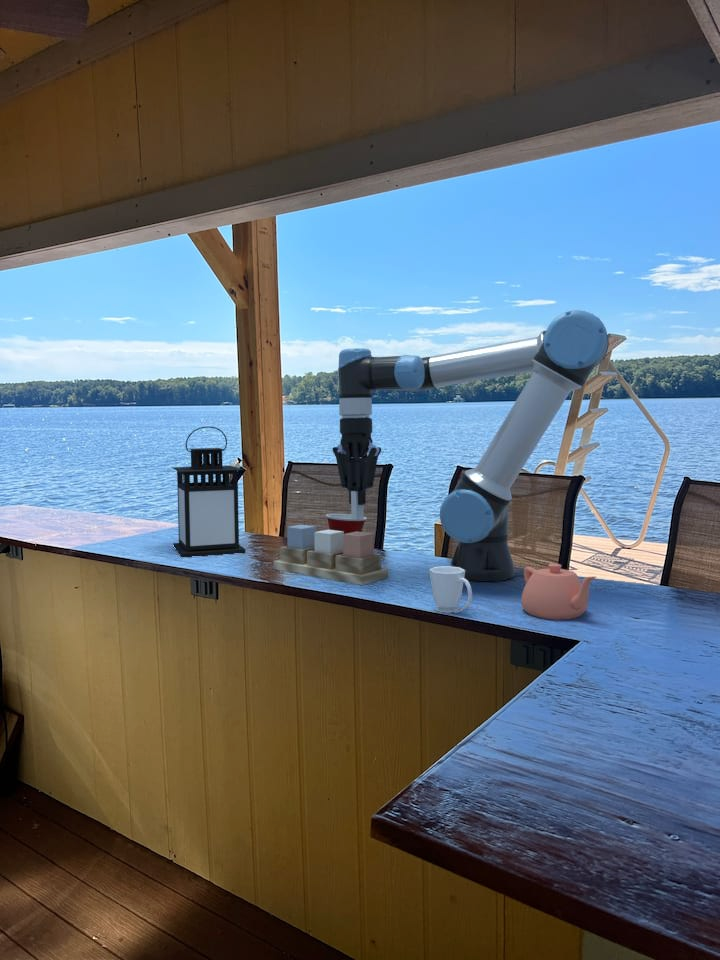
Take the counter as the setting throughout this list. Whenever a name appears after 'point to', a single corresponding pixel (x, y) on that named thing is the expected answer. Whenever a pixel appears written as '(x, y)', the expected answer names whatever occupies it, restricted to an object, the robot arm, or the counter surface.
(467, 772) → the counter surface
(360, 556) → the terracotta key
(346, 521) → the plastic cup
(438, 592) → the cup
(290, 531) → the slate key
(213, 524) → the lantern
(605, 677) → the counter surface
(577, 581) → the teapot
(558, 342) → the robot arm
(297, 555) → the beige slotted block
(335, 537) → the ivory key
